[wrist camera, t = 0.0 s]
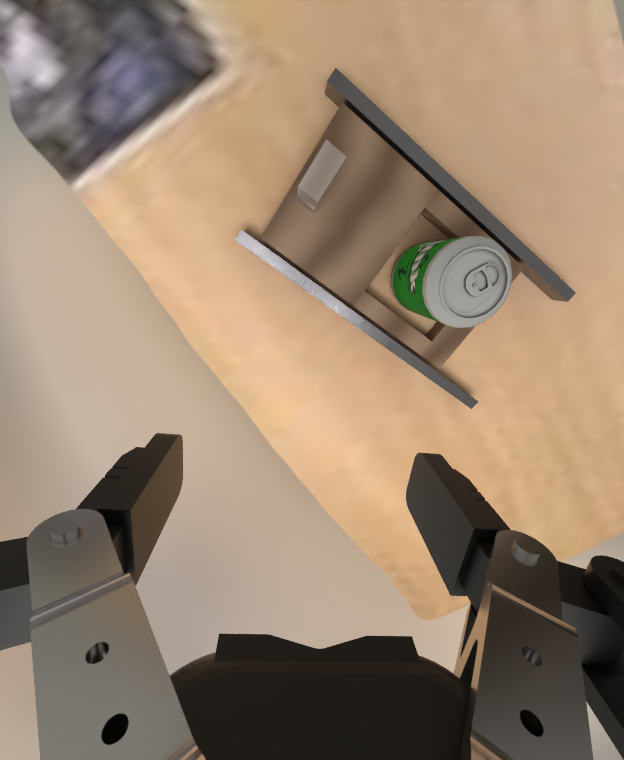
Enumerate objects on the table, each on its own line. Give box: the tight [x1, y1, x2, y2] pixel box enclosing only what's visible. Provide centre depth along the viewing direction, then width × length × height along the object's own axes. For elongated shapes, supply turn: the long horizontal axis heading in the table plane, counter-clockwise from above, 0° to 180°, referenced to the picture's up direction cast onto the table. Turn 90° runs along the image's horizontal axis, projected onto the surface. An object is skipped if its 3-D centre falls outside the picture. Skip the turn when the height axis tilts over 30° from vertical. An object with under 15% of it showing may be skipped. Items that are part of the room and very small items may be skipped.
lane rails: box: [235, 68, 575, 409], centre depth 37 cm, size 34×17×2 cm, turn 55°
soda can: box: [391, 236, 512, 328], centre depth 33 cm, size 8×8×12 cm
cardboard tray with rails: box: [261, 102, 524, 369], centre depth 33 cm, size 25×14×8 cm, turn 55°
